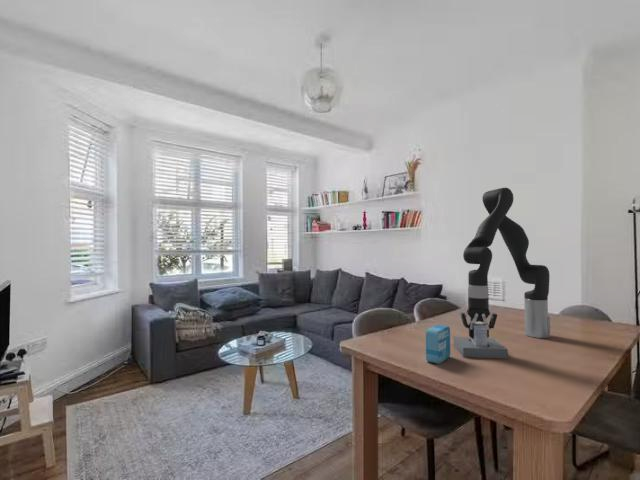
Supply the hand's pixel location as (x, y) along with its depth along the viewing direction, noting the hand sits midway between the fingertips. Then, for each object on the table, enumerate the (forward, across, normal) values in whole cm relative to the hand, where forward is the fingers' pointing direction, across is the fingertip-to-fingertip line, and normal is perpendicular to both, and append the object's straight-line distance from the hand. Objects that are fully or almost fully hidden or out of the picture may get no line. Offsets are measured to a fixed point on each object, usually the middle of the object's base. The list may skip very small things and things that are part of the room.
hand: (478, 338), depth 135 cm
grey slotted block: (+5, 0, 0) cm, 5 cm away
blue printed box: (+6, +18, +12) cm, 22 cm away
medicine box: (+3, 0, 0) cm, 3 cm away
